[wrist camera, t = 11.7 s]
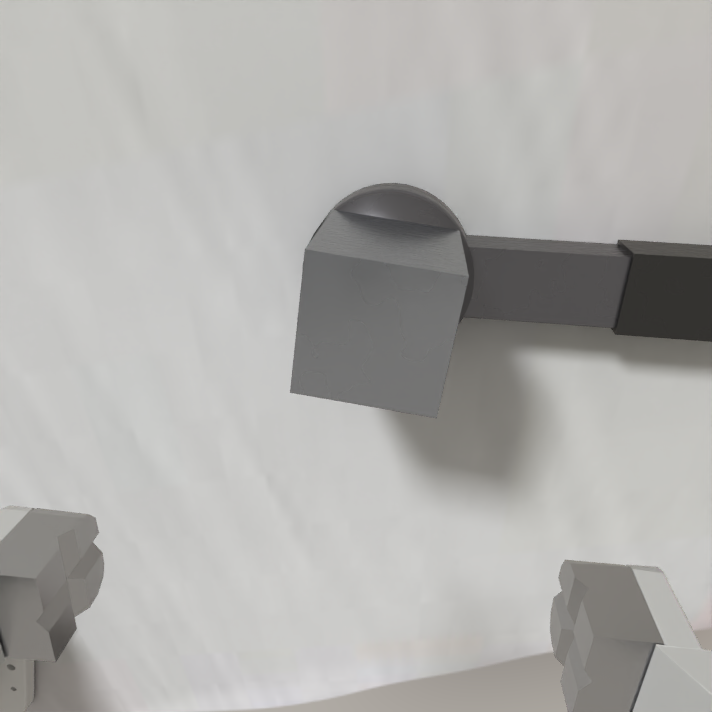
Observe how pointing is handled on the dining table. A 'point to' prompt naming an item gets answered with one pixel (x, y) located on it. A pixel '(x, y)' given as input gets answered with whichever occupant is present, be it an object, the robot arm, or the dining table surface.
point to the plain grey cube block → (379, 312)
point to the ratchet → (565, 274)
